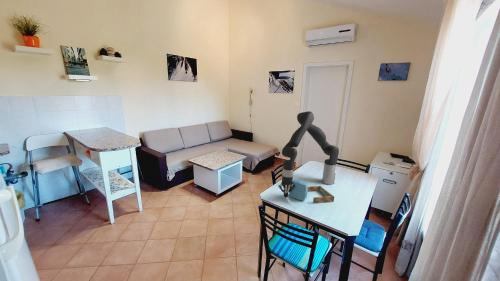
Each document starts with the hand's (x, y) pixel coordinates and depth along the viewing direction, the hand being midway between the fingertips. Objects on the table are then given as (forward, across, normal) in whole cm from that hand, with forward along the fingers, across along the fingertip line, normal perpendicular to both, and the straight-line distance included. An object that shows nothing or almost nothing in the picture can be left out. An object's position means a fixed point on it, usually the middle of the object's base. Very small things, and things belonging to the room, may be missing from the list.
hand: (285, 197), depth 146 cm
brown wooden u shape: (+1, -26, 0) cm, 26 cm away
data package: (+1, -9, 0) cm, 9 cm away
